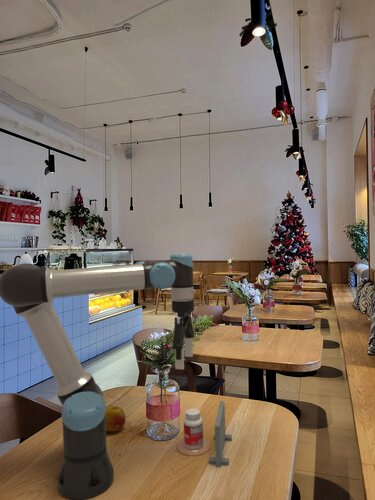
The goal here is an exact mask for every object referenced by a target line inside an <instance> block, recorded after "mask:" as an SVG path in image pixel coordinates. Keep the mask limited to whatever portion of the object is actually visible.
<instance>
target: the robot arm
mask: <svg viewBox="0 0 375 500" xmlns="http://www.w3.org/2000/svg"><path fill="white" fill-rule="evenodd" d="M170 287H171V288H170ZM168 288H170V289H171V290H170V292H171V294H170V295H171V296H170V297H171V300H172V301H171V311H172V313H176V314H177V317H174V331H173V340H172V345H171V349H172V350H174V362H175V363H174V367H175V370H185V360H184V359H185V357H186V358H187V357H189V358H192V357H194V353H193V352H194V348H193V345H194V344H193V339H194V338H195V332H194V327H193V319H192V312H194V311H195V300H193V299H194V298H195V297H194V295H195V294H194V293H196V290H195V289H194V263H193V256H192V255H191V254H189V253H177V254H175V253H174V254H171V255H170V257H169V259H168V260H143V261H137V262H135V264H134V263H133V264H122V265H110V266H99V267H98V266H97V267H85V268H84V267H83V268H71V269H61V270H60V269H58V270H52V269H50V268H49V267H48V266H47V267H39V266H38V265H36V264H33V263H29V262H28V263H26V262H25V263H20V264H17V265H13V266H11V267H9V268H7V269H5V270H4V271H3V272H2V273H1V274H0V299H1V300H2V301H3V302H4V303H5V304H7V305H9V306H12V308H13V310H14V311H15V313H16V316H19V317H23V318H24V320H25V322H26V323H27V325H28V327H29V329H30V331H31V333H32V336H33V337H34V339H35V341H36V343H37V345H38V348H39V350H40V351H41V354H42V356H43V358H44V359H45V362H46V364H47V365H48V368H49V370H50V372H51V373H52V375H53V378H54V380H55V381H56V384H57V385H58V386H57V390H56V393H55V395H56V396H57V398H58V400H59V402H60V404H61V407H62V409H61V413H60V414H61V420H62V441H63V461H62V464H61V466H60V467H61V468H60V470H59V474H58V478H57V487H58V488H57V490H58V492H59V494H60V495H61V496H62V497H64V498H66V499H69V500H86V499H91V498H94V497H96V496H99V495H101V494H103V493H104V492H105V491H107V490H108V489H109V488H110V487H111V486H112V484H113V482H114V480H115V476H114V474H115V473H114V467H113V464H112V461H111V459H110V456H109V453H108V450H107V431H106V419H105V413H106V407H107V406H106V402H105V399H104V394H103V391H102V388H101V387H100V386H99V385H98V384H97V383H96V381H95V378H94V377H93V375H92V373H91V372H88V371H85V370H84V367H83V365H82V364H81V361H80V360H79V358H78V355H77V353H76V351H75V349H74V347H73V345H72V343H71V341H70V339H69V336H68V334H67V333H66V330H65V328H64V326H63V324H62V322H61V320H60V318H59V316H58V313H57V312H56V310H55V308H54V306H53V301H54V300H55V299H56V298H59V299H60V298H69V297H76V296H88V295H89V296H90V295H98V294H99V295H100V294H108V293H116V292H117V293H118V292H119V293H120V292H126V291H127V292H128V291H138V290H139V291H140V290H151V289H159V290H164V289H166V290H167V289H168ZM183 346H184V348H183Z"/></svg>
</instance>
